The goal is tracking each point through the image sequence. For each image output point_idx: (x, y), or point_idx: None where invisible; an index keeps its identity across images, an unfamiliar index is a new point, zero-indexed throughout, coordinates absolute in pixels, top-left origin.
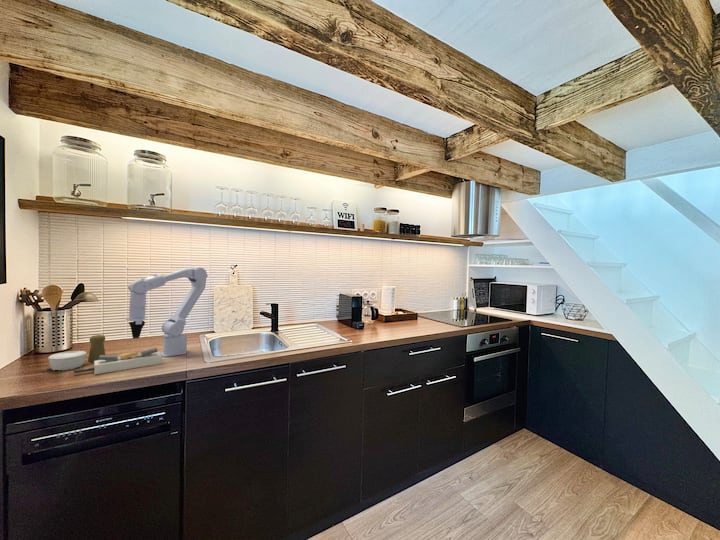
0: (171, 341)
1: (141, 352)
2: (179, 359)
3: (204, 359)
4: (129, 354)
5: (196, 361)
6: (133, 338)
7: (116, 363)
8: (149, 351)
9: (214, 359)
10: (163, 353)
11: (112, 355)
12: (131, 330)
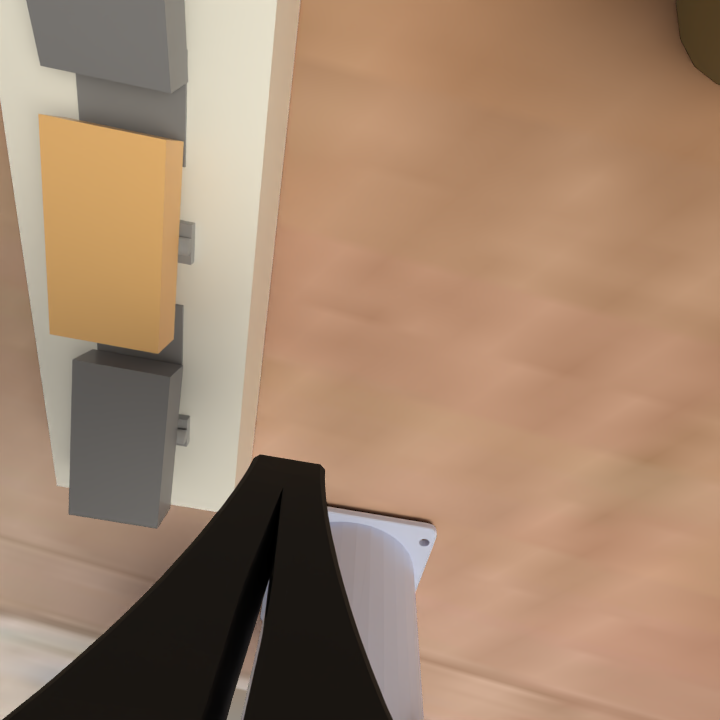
0: (251, 679)
1: (151, 379)
2: (142, 542)
3: (41, 624)
4: (47, 232)
5: (17, 585)
6: (257, 457)
7: (5, 31)
8: (77, 442)
9: (8, 652)
10: (345, 527)
11: (159, 11)
12: (338, 607)
